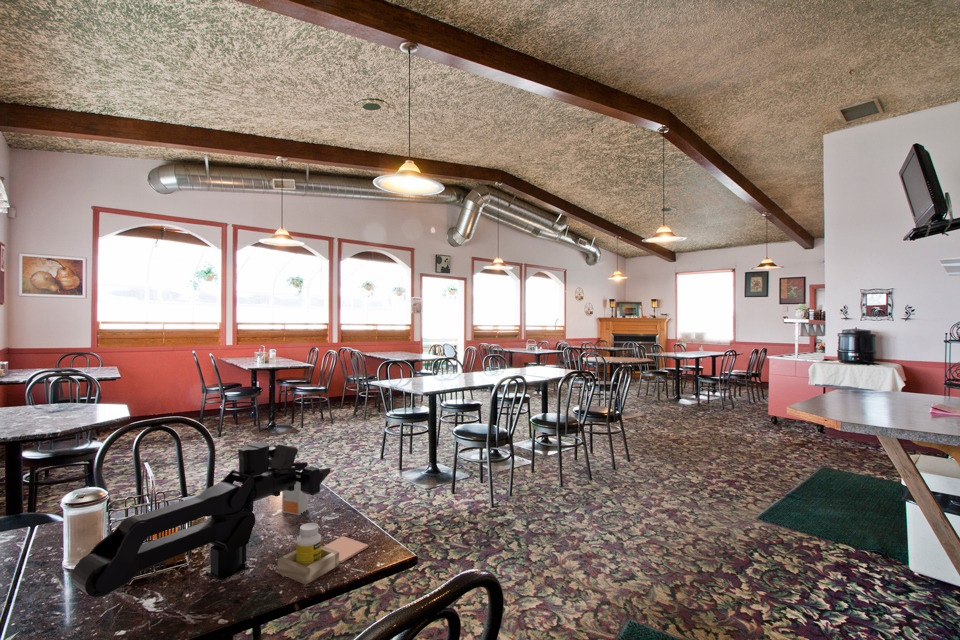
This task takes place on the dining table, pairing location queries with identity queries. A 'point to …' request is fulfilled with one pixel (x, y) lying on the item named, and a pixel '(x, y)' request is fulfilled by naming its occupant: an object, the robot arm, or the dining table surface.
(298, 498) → the skincare box
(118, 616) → the dining table surface
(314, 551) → the supplement bottle
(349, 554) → the tile
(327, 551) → the pocket block
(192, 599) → the dining table surface
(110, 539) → the robot arm
